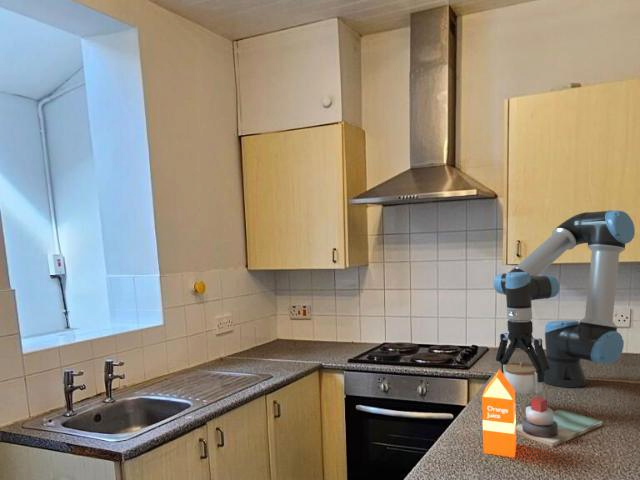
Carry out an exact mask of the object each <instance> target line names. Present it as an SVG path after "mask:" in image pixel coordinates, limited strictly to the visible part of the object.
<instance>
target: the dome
mask: <svg viewBox="0 0 640 480" xmlns="http://www.w3.org/2000/svg"><path fill="white" fill-rule="evenodd" d="M553 412H554V410H553V409H552V408H551V407H548V399H547V398H543V397H539V396H535V397H533V398H531V399H530V405H529V406H526V407H525V418H526V420H527V421H528V422H530V423H532V424H536V425H551V424H553Z"/></svg>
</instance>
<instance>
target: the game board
mask: <svg viewBox="0 0 640 480" xmlns="http://www.w3.org/2000/svg"><path fill="white" fill-rule="evenodd" d="M521 421H522V422H521V423H520V424H519V423H518V424H517V425H516V435H519V436H522V437H524V438H527V439H530V440H533V441H535V442H538V443H541V444H544V445H545V446H549V447H552V448H554V447H555V446H558V445H560V444H563V443H564V442H568V441H569V440H572V439H574V438H576V437H579V436H580V435H581V436H582V435H584V434H586V433H588V432H590V431H592V430H596V429H597V428H598V427H602V426H603V421H601V420H599V419H596V418H592V417H589V416H586V415H582V414H579V413H576V412H572V411H568V410H564V409H557V410H553V424H551V425H536V424H532V423H530V422H528V421H527V420H526V417H524V418H522V420H521Z"/></svg>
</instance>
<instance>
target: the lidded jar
mask: <svg viewBox="0 0 640 480" xmlns="http://www.w3.org/2000/svg"><path fill="white" fill-rule="evenodd" d="M504 370H505V377H506V379H507V380H508V381H509V383H510V384H511V386H512V387H513V388H514V390H515V394H516V393H517V394H523V395H524V394H525V395H527V394H528V395H529V394H532V393H533V392H534V391H535V377H534V372H536V369H535V367H534V365H533V363H527V362H524V361H520V362H512V363H509V364H508V363H507V365H505V366H504Z"/></svg>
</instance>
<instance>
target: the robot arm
mask: <svg viewBox="0 0 640 480" xmlns="http://www.w3.org/2000/svg"><path fill="white" fill-rule="evenodd" d="M633 221H634V220H633V219H632V218H631V216H630V215H629V214H628V213H626V212H625V211H624V210H623V211H622V210H611V209H610V210H609V209H608V210H603V211H600V210H599V211H590V212H588V211H587V212H581V213H578V214H575V215H573V216H572V217H569V218H568V219H566V220H565V221H563V222H562V223H560V224H559V225H558V226H557V227H556V228H554V229H553V230H552V232H551V235H550V236H549V237H548V238H547V239H546V240H545V241H543V243H541V244H540V245H538V247H537V248H535V249H534V250H533V251H532V252H531V253H530V254H529V255H528V256H526V257H525V258H524V259H523V260H521V261H520V262H519V263H518V264H517V265H516V266H515V267H514V268H512V269H511V270H510V271H508V272H507V273H505V272H504V273H499V274H498V275H496V276H495V277H494V279H493V288H494V291H496V293H498V294H501V295H504V296H506V297H505V299H506V316H507V324H506V325H507V332H508V333H507V332H504V333H501V334H500V335H499V339H500V342H499V346H498V350H497V353H496V357H495V361H496V362H498V363H500V365H501V372H502V373H503V375H504V376H505V370H504V366H505V365H507V364H510V362H509V361H510V360H511V358H512V356H513V354H514V352H515V350H516V349H517V350H518V349H519V350H521V351H524V352H525V353H526V355H527V356H528V358H529V360H530V362H531V364H533V365H534V367H535V369H536V372H534V377H535V390H534V391H535V394H539V393H541V392H543V383H545V384H548V385H551V386H556V387H562V388H580V387H581V388H582V387H584V386H586V385H587V377H586V374H585V371H584V370H583V367H582V364H581V360H585V361H589V362H594V363H595V364H596V363H597V364H604V365H609V364H610V365H611V364H613V363H615V362H616V361H617V360H618V359H619V358H620V357H621V355H622V353H623V351H624V344H625V341H624V339H623V336H622V334H621V333H620V332H618V326H617V324H615V323H614V321H613V319H614V311H615V309H614V308H615V300H616V289H617V280H618V269H619V260H620V254H621V253H623V252H624V251H625V250H626V244H628V243H631V242H632V241H633V239H634V238H635V235H636V234H635V231H636V230H635V225H634V222H633ZM582 244H587V248H588V249H589V250H590V251H591V255H590V267H589V275H588V283H587V284H588V285H587V293H586V294H587V295H586V303H585V304H586V305H585V313H584V314H585V315H584V317H583V318H582V319H581V320H579V321H578V320H572V319H571V320H569V319H568V320H566V319H565V320H554V321H548V322H547V323H546V324H545V328H544V338H545V339H544V340H545V343H544V344H545V350H544V347H543V339H542V338H534V337H533V331H534V326H533V321H532V319H533V308H532V301H536V300H544V299H551V298H554V297H557V295H558V294H559V292H560V283H559V280H558V279H557V278H556V277H555V276H553V275H545V274H543V275H541V274H542V273H543V272H544V271H546V270H547V268H548V267H550V266H551V265H552V264H553V263H554V262H555V261H556V260H557V259H559V258H560V257H561V256H562V255H563V254H564V253H565V252H566V251H569V250H572V249H574V248H575V247H576V246H579V245H582ZM508 342H510V343H508ZM508 344H509V345H508Z"/></svg>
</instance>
